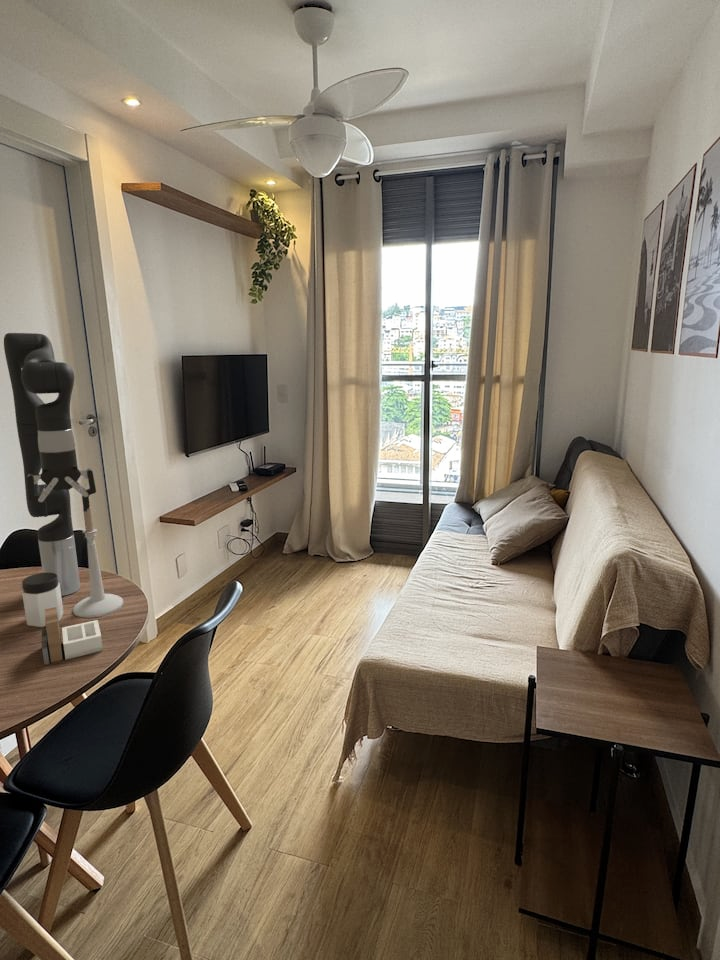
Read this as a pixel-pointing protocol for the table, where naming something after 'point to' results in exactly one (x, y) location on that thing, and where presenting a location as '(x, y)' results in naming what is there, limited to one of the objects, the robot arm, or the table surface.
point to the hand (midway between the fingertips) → (65, 513)
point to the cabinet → (77, 640)
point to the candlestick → (95, 581)
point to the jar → (41, 597)
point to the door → (53, 634)
